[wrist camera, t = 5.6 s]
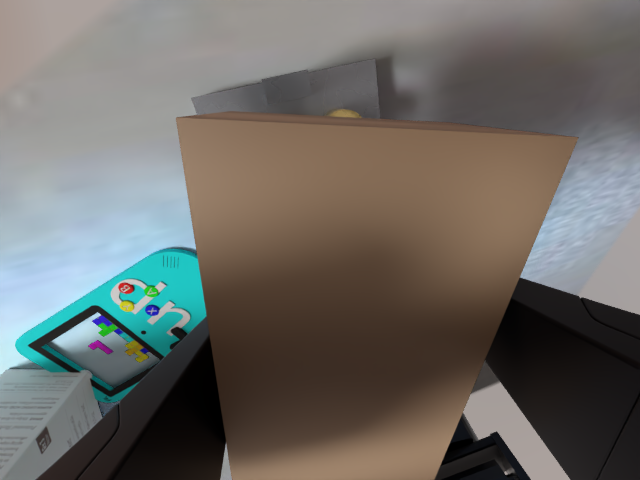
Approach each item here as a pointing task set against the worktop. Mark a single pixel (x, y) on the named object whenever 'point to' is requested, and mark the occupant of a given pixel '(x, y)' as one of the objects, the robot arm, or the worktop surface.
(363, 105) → the chassis
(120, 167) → the worktop surface
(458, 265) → the tan block
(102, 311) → the handheld gaming console
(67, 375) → the skincare box
